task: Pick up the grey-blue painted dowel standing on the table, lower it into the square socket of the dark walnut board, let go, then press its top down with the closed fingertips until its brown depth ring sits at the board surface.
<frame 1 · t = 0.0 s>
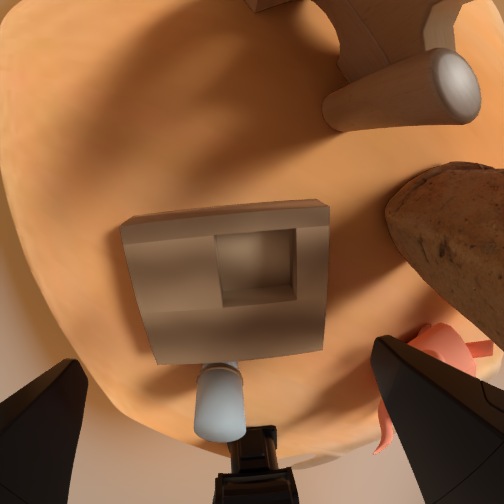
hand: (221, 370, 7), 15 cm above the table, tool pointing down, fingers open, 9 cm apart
teapot: (409, 355, 28), on the table
wooden toy: (316, 40, 16), on the table
board: (230, 280, 22), on the table
peg: (220, 364, 25), on the table
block: (425, 206, 22), on the table
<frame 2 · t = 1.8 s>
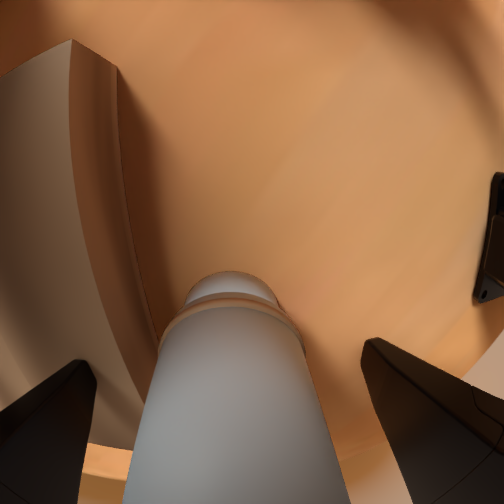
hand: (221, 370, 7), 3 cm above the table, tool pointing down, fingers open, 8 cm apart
board: (22, 278, 9), on the table
peg: (231, 314, 10), on the table
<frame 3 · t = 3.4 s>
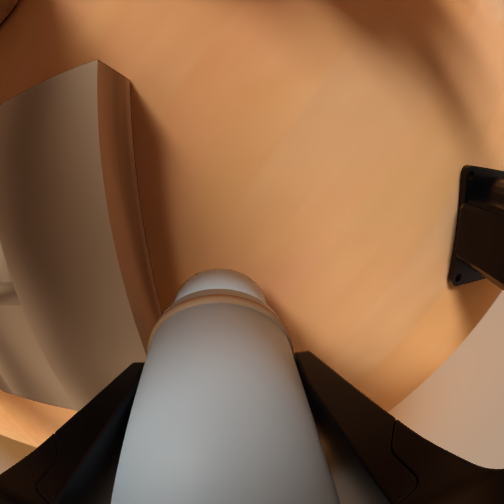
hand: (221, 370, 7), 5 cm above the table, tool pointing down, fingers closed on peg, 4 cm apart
board: (40, 262, 11), on the table
peg: (220, 311, 10), point 2 cm above the table, touching gripper
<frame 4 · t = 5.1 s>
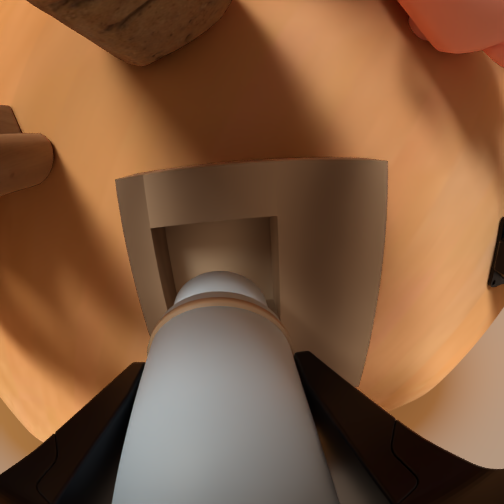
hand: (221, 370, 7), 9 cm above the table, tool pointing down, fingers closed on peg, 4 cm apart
board: (259, 285, 16), on the table
peg: (220, 313, 10), point 6 cm above the table, touching gripper
when the fingers open (4 cm above the table, at t = 6.5 s): peg stays where it is, resting on board.
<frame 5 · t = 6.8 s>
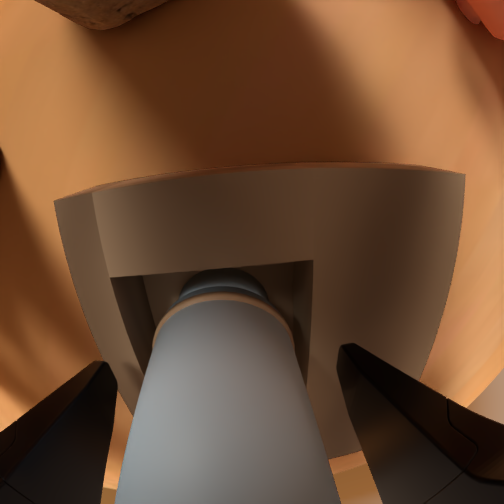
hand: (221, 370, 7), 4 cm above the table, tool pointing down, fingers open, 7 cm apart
board: (274, 337, 11), on the table
peg: (223, 309, 10), point 1 cm above the table, touching board
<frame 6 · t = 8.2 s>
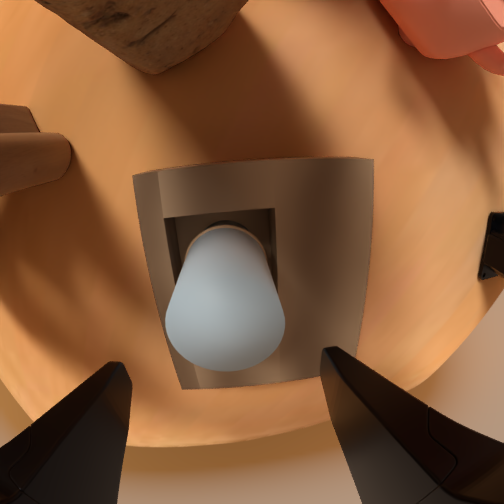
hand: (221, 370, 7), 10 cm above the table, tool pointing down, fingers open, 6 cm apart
teapot: (410, 6, 12), on the table
wooden toy: (3, 192, 14), on the table
board: (259, 272, 18), on the table
peg: (226, 248, 16), point 1 cm above the table, touching board
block: (160, 8, 11), on the table
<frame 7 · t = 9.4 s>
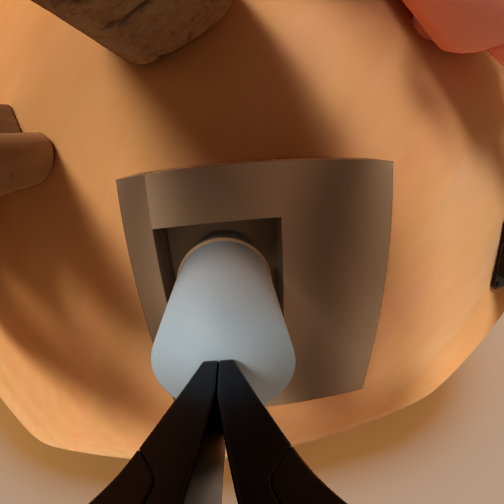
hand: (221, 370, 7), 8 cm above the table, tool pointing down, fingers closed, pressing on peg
board: (262, 287, 16), on the table
peg: (225, 261, 15), point 1 cm above the table, touching board, gripper
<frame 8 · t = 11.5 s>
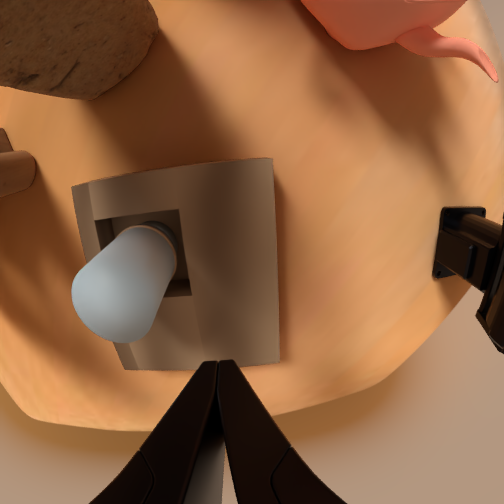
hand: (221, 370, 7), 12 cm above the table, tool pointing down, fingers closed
teapot: (344, 0, 13), on the table
board: (185, 266, 19), on the table
peg: (153, 245, 18), resting on board
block: (101, 37, 13), on the table
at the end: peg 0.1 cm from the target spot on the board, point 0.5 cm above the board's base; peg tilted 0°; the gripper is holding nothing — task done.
